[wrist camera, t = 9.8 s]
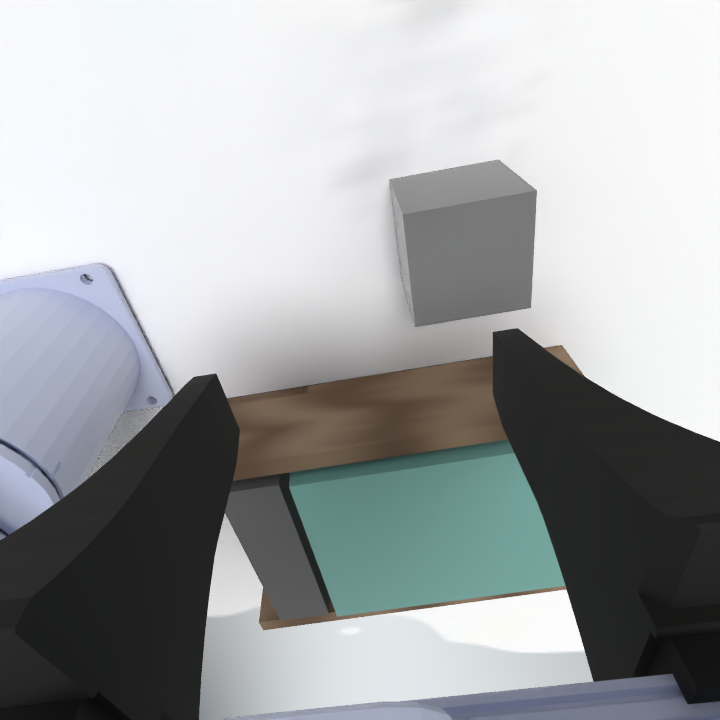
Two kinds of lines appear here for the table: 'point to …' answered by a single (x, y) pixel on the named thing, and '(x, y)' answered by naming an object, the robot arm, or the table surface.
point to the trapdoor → (394, 532)
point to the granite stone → (465, 241)
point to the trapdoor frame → (369, 432)
